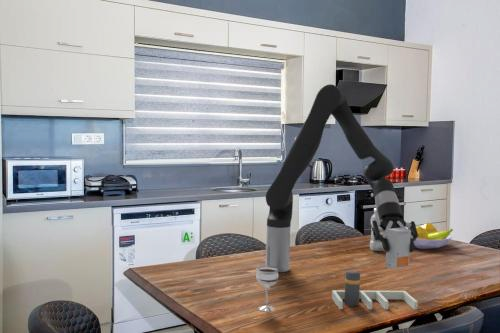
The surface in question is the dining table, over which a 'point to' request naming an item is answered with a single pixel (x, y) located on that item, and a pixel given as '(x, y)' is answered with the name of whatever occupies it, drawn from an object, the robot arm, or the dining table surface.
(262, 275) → the wineglass
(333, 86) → the robot arm
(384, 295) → the rack
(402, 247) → the skincare box
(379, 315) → the dining table surface
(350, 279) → the charcoal plug
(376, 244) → the plastic bottle
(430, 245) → the fruit bowl
